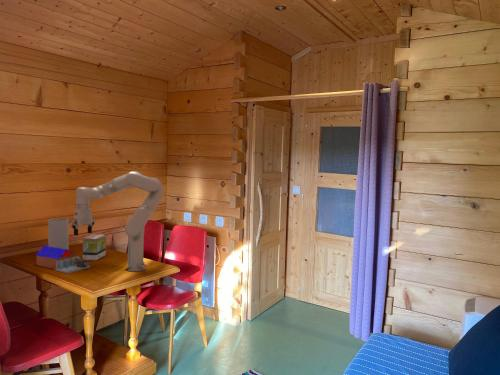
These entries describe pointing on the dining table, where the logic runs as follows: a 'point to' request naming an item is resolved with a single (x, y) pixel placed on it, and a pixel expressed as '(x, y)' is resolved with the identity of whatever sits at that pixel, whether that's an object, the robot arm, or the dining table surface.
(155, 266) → the dining table surface
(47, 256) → the house
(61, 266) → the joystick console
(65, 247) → the cylinder vase
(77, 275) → the dining table surface
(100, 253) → the tea box
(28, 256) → the dining table surface
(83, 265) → the cube on round rod
